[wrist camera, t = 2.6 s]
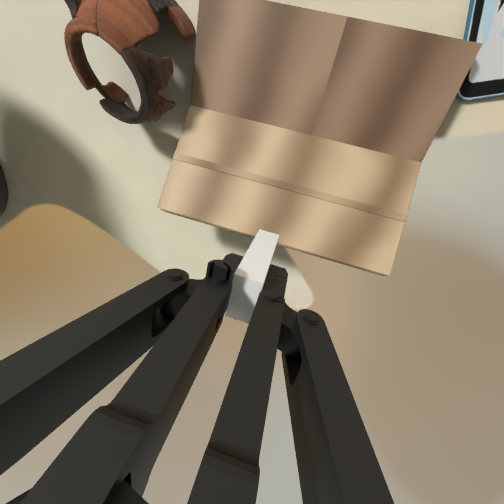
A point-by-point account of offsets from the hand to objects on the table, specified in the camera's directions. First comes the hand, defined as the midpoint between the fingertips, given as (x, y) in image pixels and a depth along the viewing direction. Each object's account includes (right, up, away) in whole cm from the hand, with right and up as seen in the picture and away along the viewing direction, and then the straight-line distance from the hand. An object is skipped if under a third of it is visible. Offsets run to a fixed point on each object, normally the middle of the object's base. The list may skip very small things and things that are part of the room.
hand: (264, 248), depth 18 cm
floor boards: (+5, +14, +3) cm, 15 cm away
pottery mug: (-11, +19, +5) cm, 22 cm away
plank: (+2, +5, +5) cm, 8 cm away
